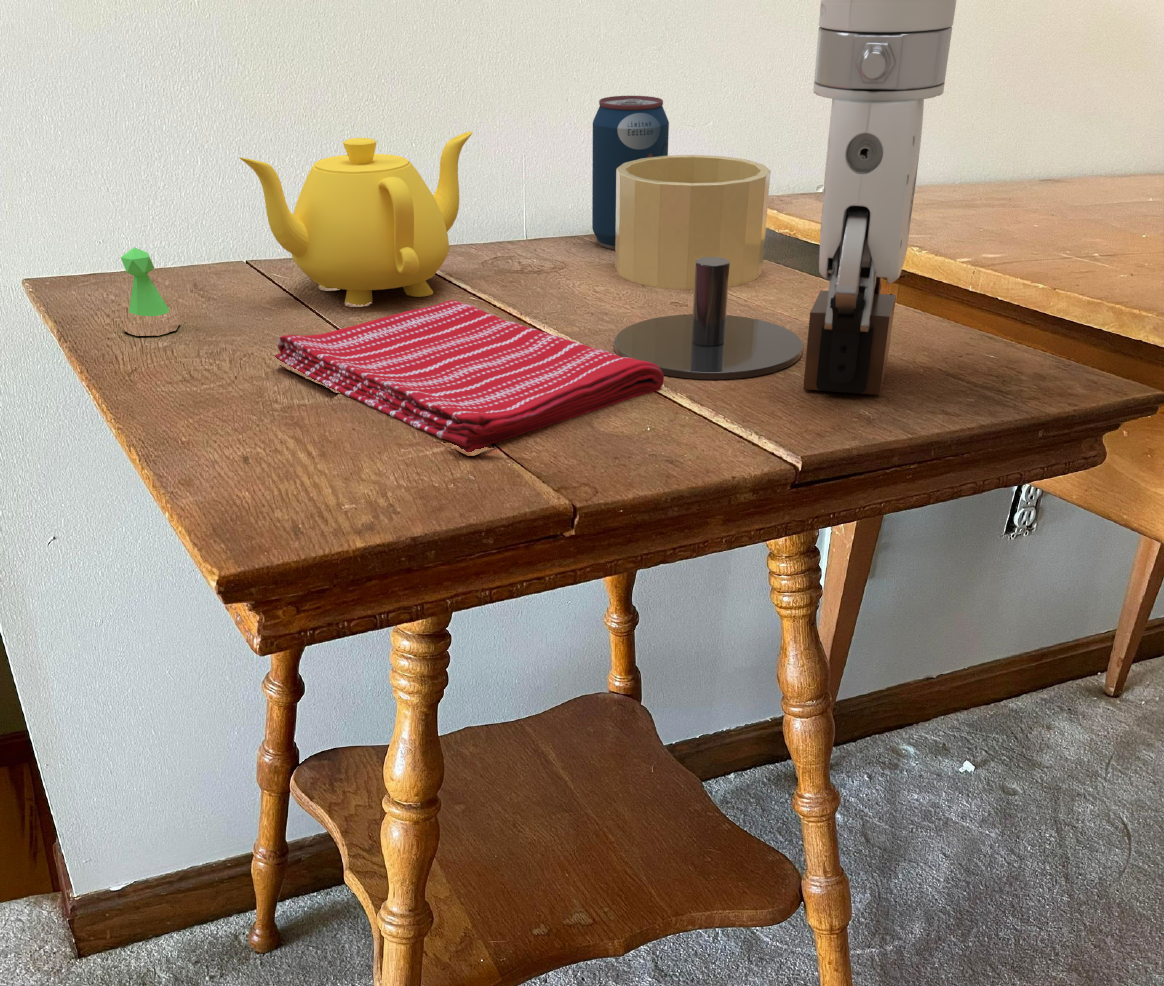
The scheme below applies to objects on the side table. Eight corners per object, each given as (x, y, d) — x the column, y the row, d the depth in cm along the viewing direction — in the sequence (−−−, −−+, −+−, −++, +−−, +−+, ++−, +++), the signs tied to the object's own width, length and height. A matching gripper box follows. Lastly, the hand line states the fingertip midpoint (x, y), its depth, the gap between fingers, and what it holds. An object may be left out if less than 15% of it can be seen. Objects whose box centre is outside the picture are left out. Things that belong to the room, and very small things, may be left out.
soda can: (660, 253, 111) (664, 106, 103) (586, 250, 112) (586, 104, 104) (668, 235, 116) (674, 95, 109) (598, 232, 117) (599, 93, 110)
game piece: (186, 332, 92) (170, 249, 89) (129, 340, 91) (110, 257, 87) (174, 317, 95) (158, 237, 92) (119, 325, 94) (100, 244, 90)
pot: (771, 262, 108) (780, 158, 103) (746, 301, 98) (755, 188, 93) (636, 253, 111) (638, 151, 106) (599, 290, 101) (599, 180, 96)
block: (886, 370, 82) (896, 294, 79) (879, 395, 78) (889, 316, 75) (813, 365, 83) (820, 290, 80) (803, 389, 79) (810, 311, 76)
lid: (812, 336, 91) (823, 243, 87) (785, 396, 80) (796, 294, 76) (639, 322, 94) (641, 232, 90) (591, 378, 83) (592, 279, 79)
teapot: (302, 335, 91) (278, 170, 85) (235, 290, 101) (209, 139, 95) (526, 294, 100) (521, 142, 93) (444, 257, 110) (434, 116, 103)
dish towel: (474, 465, 71) (472, 421, 70) (269, 369, 85) (263, 331, 84) (674, 396, 80) (675, 356, 79) (459, 320, 94) (457, 285, 93)
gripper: (939, 86, 62) (891, 426, 73) (953, 46, 75) (911, 340, 86) (794, 84, 64) (769, 416, 75) (833, 45, 77) (807, 333, 88)
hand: (846, 373), depth 80 cm, fingers closed on block, 5 cm apart
